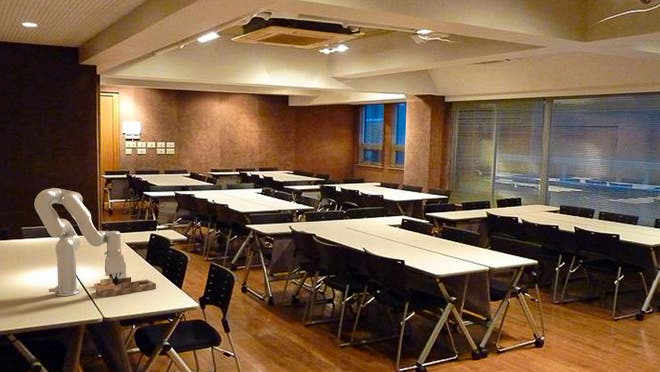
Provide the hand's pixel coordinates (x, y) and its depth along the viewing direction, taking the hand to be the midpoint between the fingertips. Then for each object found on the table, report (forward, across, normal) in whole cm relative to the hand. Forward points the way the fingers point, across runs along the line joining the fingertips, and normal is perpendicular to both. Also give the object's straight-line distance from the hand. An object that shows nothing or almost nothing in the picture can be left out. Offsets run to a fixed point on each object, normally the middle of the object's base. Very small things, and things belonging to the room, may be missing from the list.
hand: (115, 284), depth 321 cm
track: (+4, +6, 0) cm, 8 cm away
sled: (+1, -6, 0) cm, 6 cm away
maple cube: (+1, -5, 0) cm, 5 cm away
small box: (+4, +8, +19) cm, 21 cm away
